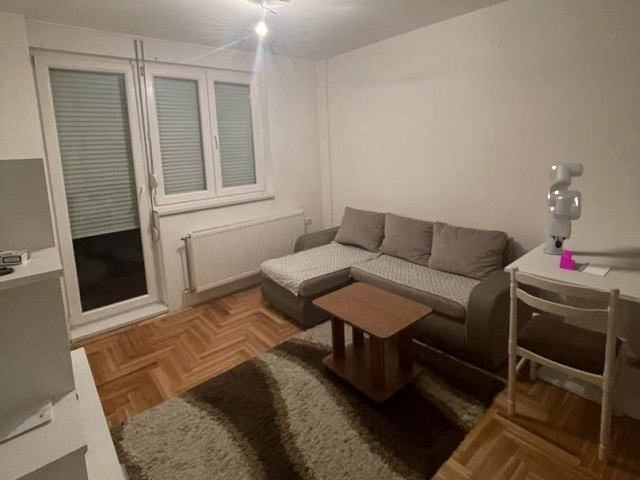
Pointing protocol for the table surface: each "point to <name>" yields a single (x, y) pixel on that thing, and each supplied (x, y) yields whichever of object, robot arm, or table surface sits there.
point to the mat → (594, 269)
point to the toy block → (567, 261)
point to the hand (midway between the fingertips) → (558, 247)
